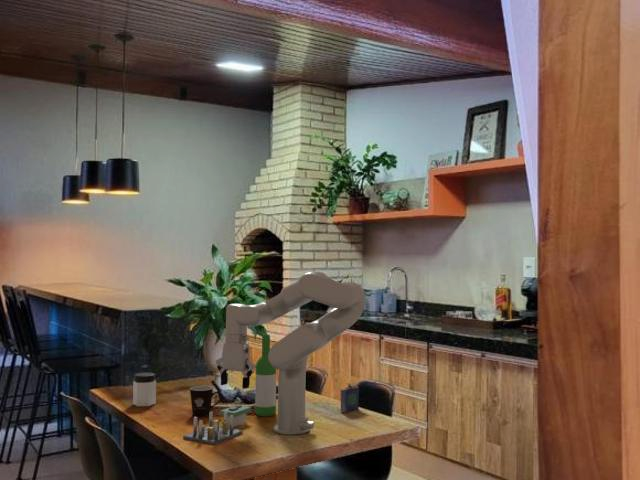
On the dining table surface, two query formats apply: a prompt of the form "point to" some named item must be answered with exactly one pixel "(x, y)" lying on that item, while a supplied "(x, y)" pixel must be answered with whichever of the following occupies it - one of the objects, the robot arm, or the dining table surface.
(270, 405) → the wine bottle
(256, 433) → the dining table surface
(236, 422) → the stand
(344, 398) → the flask
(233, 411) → the board
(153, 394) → the jar
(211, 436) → the vial rack
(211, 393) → the coffee mug
